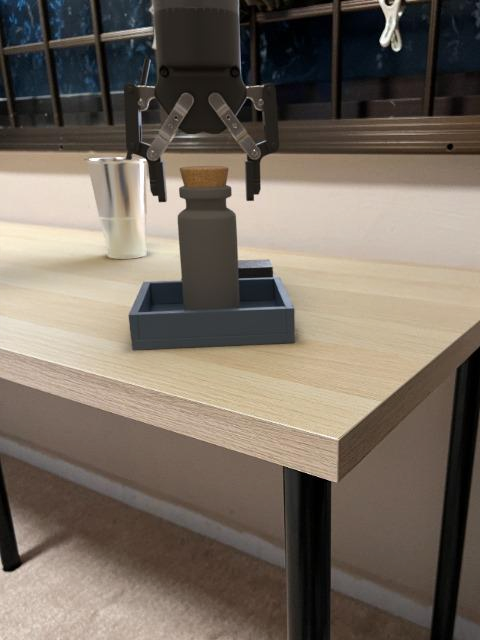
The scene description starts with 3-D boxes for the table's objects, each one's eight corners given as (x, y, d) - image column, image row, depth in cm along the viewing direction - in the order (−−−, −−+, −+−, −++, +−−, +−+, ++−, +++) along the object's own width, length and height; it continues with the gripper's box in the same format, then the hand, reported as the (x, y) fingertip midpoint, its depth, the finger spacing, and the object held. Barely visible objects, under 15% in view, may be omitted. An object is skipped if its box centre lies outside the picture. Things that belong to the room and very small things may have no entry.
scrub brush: (181, 298, 76) (179, 270, 74) (183, 287, 81) (181, 261, 80) (277, 295, 77) (277, 267, 75) (273, 284, 82) (272, 258, 81)
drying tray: (132, 350, 58) (128, 314, 57) (146, 311, 70) (143, 281, 69) (294, 342, 60) (294, 308, 58) (280, 306, 72) (280, 276, 71)
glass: (166, 248, 109) (150, 58, 97) (158, 260, 98) (139, 49, 87) (105, 249, 108) (81, 58, 96) (90, 261, 98) (61, 49, 86)
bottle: (222, 306, 68) (215, 164, 63) (250, 318, 64) (245, 167, 58) (175, 315, 65) (163, 167, 59) (201, 328, 61) (191, 169, 55)
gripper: (107, 1, 50) (128, 207, 56) (280, 3, 51) (282, 204, 57) (120, 17, 57) (137, 198, 63) (272, 18, 58) (275, 196, 64)
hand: (207, 200), depth 60 cm, fingers open, 8 cm apart
